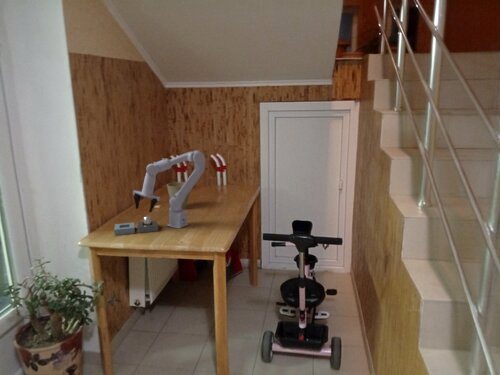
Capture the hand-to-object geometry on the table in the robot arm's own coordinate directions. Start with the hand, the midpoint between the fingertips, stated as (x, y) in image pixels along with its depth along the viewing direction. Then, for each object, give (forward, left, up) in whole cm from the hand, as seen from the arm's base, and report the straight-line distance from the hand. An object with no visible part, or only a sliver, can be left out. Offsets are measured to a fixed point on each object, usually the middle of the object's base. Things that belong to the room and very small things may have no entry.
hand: (143, 210), depth 213 cm
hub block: (+5, +9, -10) cm, 15 cm away
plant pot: (+12, -41, -10) cm, 43 cm away
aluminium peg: (-3, 0, -10) cm, 11 cm away
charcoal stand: (-3, 0, -10) cm, 11 cm away
